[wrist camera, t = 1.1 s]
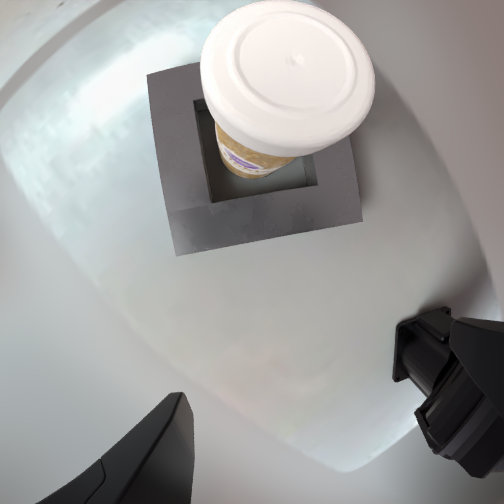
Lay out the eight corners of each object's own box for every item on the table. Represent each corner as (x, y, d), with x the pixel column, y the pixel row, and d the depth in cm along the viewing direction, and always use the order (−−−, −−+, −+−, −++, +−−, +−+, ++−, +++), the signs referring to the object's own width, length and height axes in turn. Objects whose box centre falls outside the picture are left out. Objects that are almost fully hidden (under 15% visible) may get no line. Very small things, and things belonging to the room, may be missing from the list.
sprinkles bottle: (211, 170, 19) (172, 119, 6) (228, 109, 18) (228, -21, 5) (276, 187, 19) (366, 173, 6) (292, 125, 19) (388, 30, 5)
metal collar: (348, 218, 20) (362, 221, 18) (182, 248, 20) (176, 256, 17) (317, 64, 18) (327, 50, 15) (155, 87, 17) (146, 74, 15)
